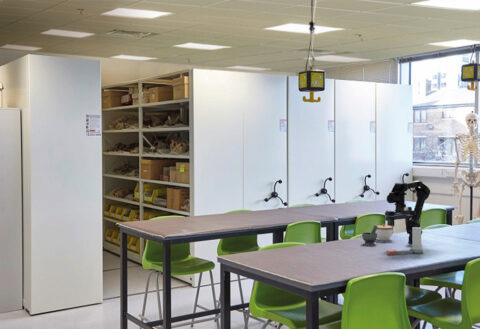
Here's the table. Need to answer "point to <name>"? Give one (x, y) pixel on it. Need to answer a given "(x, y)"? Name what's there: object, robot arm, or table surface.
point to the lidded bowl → (384, 232)
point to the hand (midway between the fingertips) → (400, 226)
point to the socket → (416, 238)
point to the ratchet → (404, 252)
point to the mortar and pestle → (370, 236)
